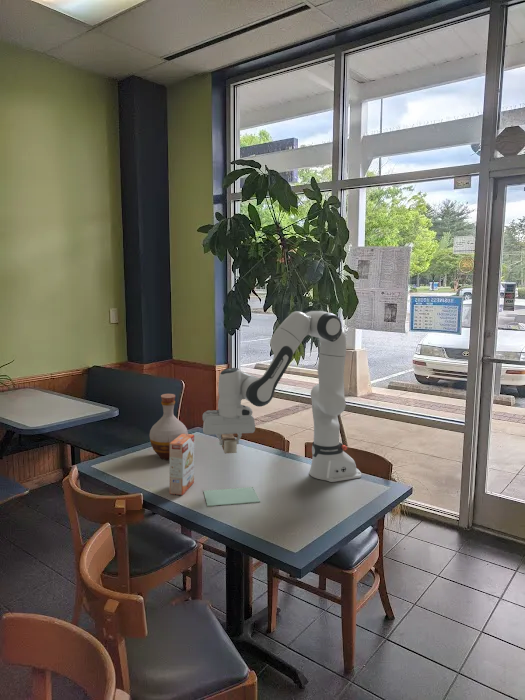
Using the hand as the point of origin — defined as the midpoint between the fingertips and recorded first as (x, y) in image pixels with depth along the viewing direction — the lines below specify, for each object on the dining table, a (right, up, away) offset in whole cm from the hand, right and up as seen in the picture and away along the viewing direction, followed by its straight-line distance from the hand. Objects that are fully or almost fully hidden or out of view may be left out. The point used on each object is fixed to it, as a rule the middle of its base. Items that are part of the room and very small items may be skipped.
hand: (229, 444), depth 206 cm
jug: (-31, -14, +44) cm, 56 cm away
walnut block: (-1, +1, +7) cm, 7 cm away
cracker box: (-19, -19, +6) cm, 28 cm away
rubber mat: (+1, -20, -2) cm, 20 cm away
